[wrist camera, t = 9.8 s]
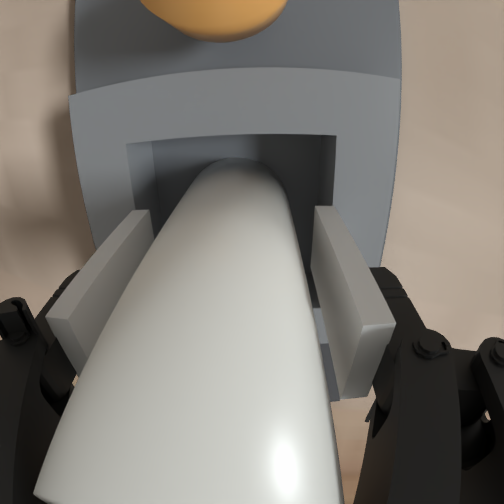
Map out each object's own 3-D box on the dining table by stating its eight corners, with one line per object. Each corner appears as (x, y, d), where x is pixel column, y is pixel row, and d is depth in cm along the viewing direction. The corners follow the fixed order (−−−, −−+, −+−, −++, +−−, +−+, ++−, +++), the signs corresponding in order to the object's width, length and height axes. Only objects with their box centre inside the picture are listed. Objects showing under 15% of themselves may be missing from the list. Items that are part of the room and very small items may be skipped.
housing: (127, 302, 20) (106, 343, 16) (87, -33, 9) (49, -51, 5) (365, 301, 19) (382, 345, 16) (383, -51, 8) (414, -78, 5)
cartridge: (193, 251, 16) (109, 532, 4) (182, 159, 14) (-31, 450, 2) (286, 250, 16) (318, 552, 4) (288, 156, 14) (402, 520, 2)
